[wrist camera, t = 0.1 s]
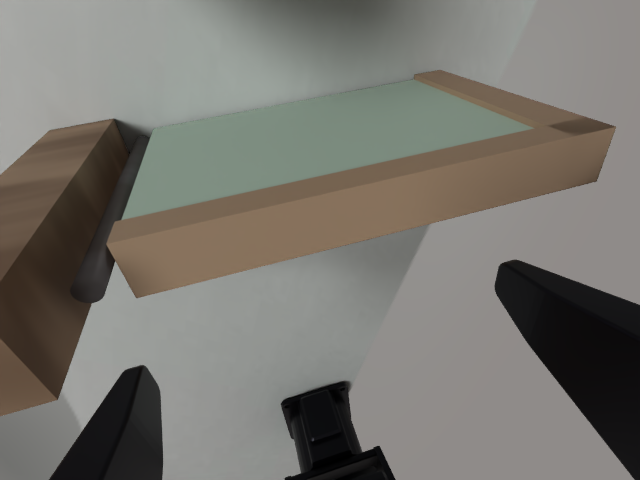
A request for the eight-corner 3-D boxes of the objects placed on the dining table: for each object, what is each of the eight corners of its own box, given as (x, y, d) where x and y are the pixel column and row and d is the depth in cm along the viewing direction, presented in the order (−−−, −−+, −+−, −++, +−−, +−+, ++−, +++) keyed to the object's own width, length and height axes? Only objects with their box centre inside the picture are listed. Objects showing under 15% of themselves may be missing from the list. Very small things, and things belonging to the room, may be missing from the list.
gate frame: (397, 165, 24) (568, 314, 13) (104, 231, 21) (-1, 492, 10) (399, 66, 21) (632, 153, 10) (49, 130, 18) (-202, 358, 7)
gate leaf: (165, 160, 20) (136, 298, 11) (151, 123, 19) (105, 244, 10) (437, 105, 22) (596, 181, 13) (439, 69, 21) (616, 126, 12)
